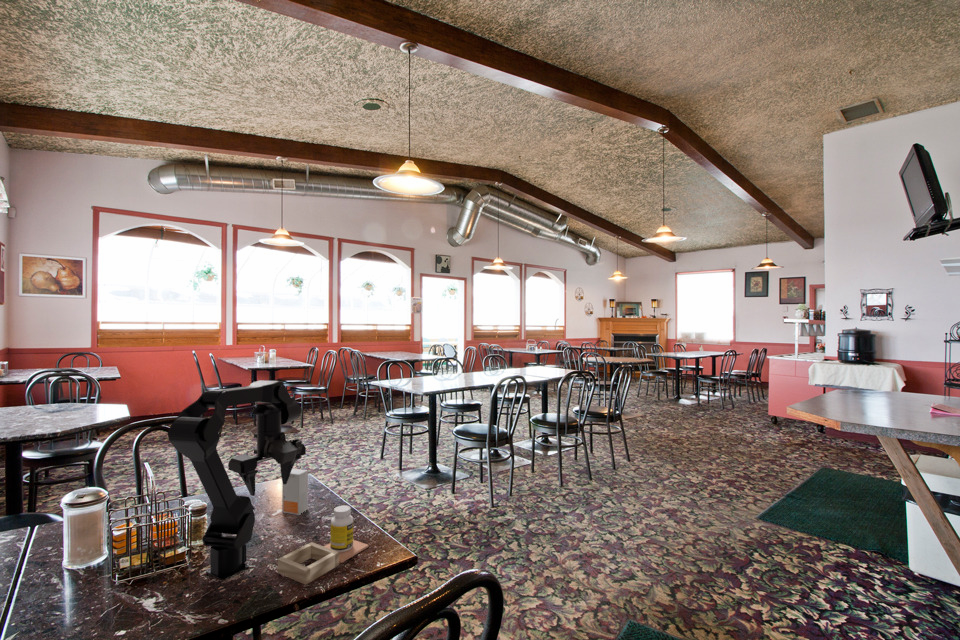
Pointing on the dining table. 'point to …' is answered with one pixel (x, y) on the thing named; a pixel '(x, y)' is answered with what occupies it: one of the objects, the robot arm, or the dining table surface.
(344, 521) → the supplement bottle
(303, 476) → the skincare box
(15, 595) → the dining table surface
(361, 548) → the tile
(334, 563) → the pocket block
